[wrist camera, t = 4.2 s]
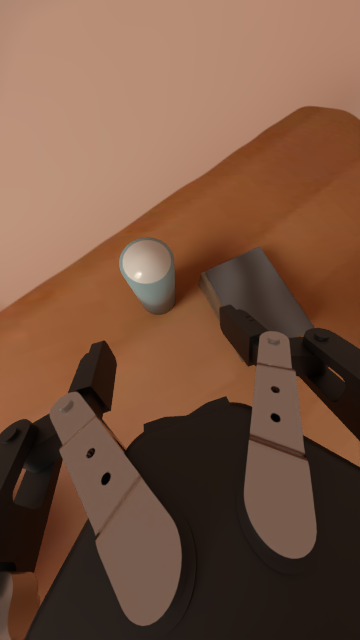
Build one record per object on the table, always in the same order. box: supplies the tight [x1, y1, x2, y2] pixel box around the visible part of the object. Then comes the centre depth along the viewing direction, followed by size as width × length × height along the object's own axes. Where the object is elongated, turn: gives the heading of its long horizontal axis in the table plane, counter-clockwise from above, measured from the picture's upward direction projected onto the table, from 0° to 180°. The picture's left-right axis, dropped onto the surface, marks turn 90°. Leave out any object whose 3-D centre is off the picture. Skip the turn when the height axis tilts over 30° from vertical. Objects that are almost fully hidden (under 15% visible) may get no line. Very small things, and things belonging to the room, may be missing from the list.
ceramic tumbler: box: [119, 238, 175, 315], centre depth 20 cm, size 5×5×10 cm
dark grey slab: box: [198, 247, 314, 362], centre depth 23 cm, size 9×13×4 cm
